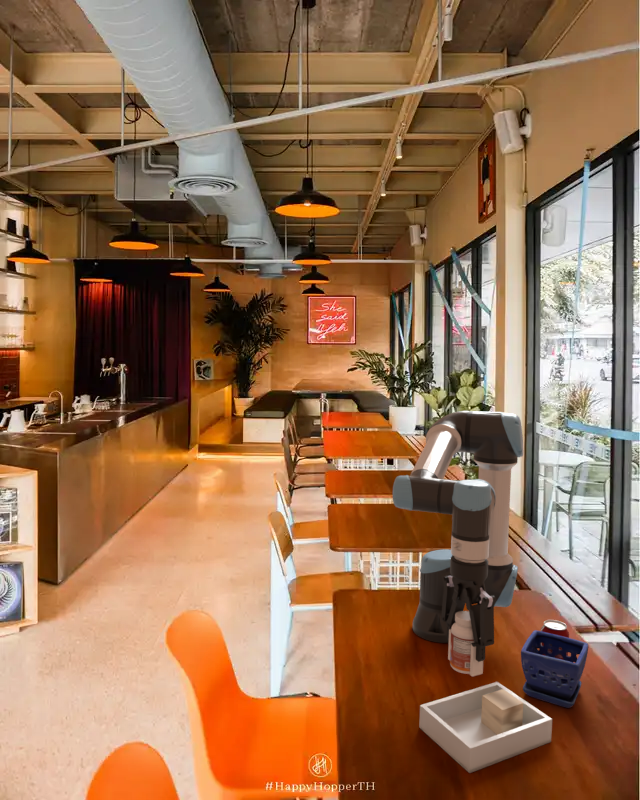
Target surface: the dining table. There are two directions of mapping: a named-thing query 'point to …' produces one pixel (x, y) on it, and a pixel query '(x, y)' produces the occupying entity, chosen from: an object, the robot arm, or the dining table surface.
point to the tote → (481, 729)
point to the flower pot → (553, 668)
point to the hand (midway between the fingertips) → (464, 666)
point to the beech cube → (501, 711)
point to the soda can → (555, 632)
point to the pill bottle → (461, 642)
